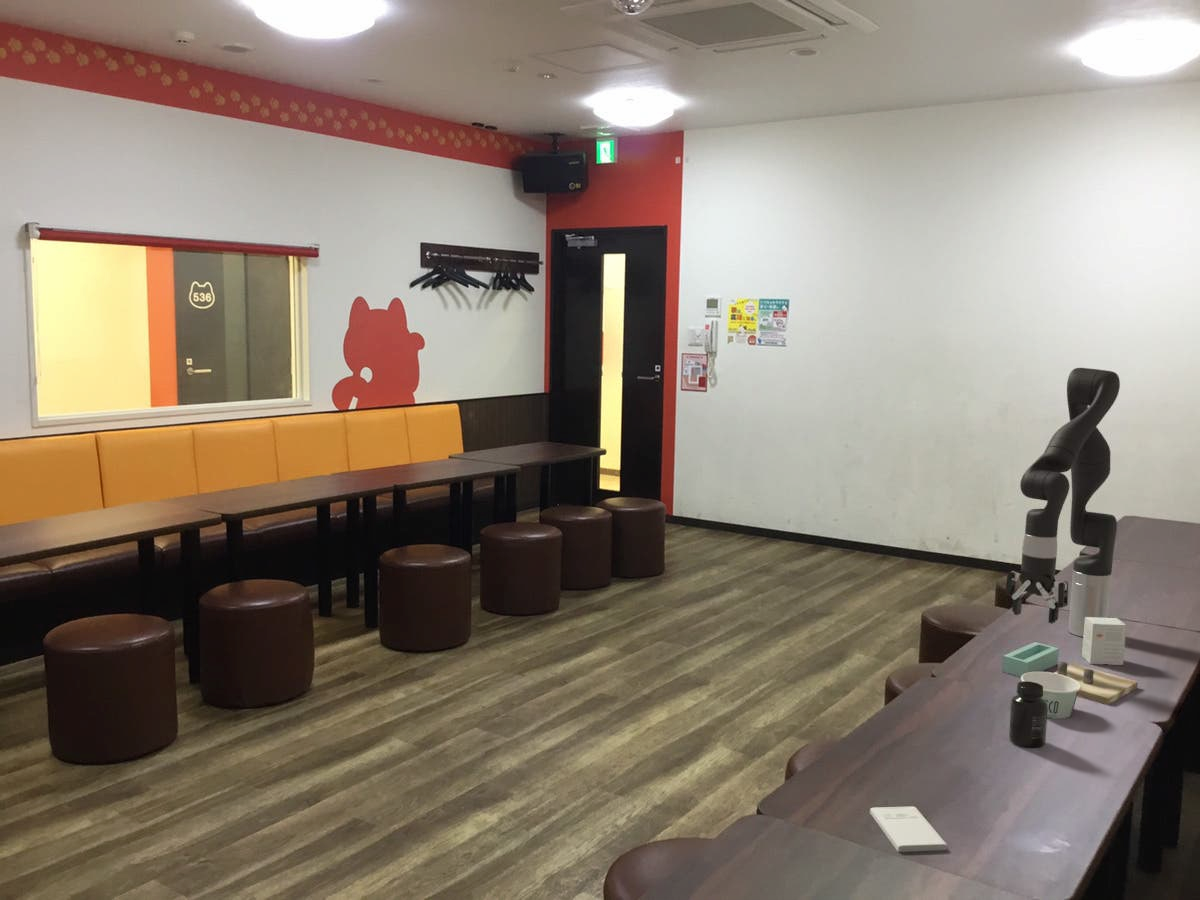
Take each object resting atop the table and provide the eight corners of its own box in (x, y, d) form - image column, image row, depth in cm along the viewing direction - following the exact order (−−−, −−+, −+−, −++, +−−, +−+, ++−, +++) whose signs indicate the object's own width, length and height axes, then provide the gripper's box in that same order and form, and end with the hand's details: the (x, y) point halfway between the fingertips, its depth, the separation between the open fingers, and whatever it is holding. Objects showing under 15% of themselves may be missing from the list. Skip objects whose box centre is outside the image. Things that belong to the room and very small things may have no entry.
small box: (1114, 658, 248) (1117, 617, 246) (1123, 665, 242) (1127, 624, 241) (1080, 656, 249) (1084, 616, 247) (1089, 664, 243) (1093, 623, 242)
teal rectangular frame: (1033, 657, 247) (1035, 642, 247) (1057, 664, 243) (1058, 648, 242) (1002, 671, 237) (1003, 655, 237) (1026, 678, 233) (1027, 662, 232)
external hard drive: (897, 855, 157) (869, 815, 169) (947, 853, 158) (915, 814, 170) (898, 845, 157) (870, 806, 169) (947, 843, 158) (916, 805, 170)
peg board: (1072, 669, 239) (1073, 651, 239) (1137, 687, 228) (1139, 669, 227) (1040, 684, 229) (1042, 666, 228) (1107, 704, 218) (1109, 685, 217)
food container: (1078, 705, 218) (1081, 676, 217) (1079, 725, 207) (1082, 695, 206) (1019, 695, 222) (1021, 667, 222) (1017, 715, 212) (1019, 685, 211)
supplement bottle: (1043, 738, 200) (1048, 681, 198) (1046, 752, 194) (1051, 693, 192) (1007, 733, 202) (1011, 677, 201) (1009, 746, 196) (1013, 689, 194)
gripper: (1076, 556, 233) (1070, 622, 235) (1018, 545, 244) (1013, 608, 246) (1062, 561, 228) (1056, 628, 230) (1003, 549, 239) (998, 614, 241)
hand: (1034, 618), depth 238 cm, fingers open, 8 cm apart
